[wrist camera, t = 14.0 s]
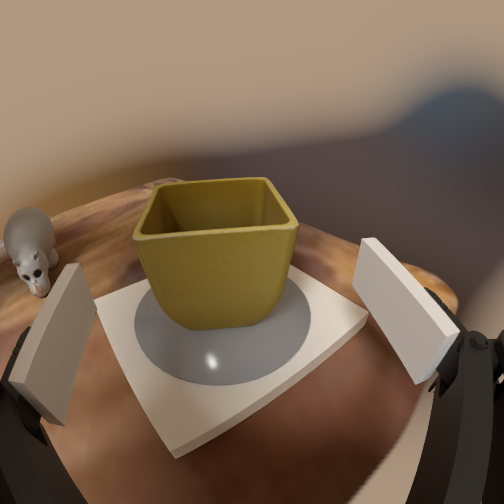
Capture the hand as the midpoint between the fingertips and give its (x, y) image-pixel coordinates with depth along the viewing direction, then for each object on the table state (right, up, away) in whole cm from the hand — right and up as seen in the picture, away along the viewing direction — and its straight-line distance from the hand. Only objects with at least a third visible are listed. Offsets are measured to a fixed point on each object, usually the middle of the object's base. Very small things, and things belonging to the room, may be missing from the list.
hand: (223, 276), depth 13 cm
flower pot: (-1, -3, +10) cm, 10 cm away
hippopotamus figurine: (-25, -2, +16) cm, 29 cm away
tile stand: (-1, -5, +11) cm, 12 cm away
